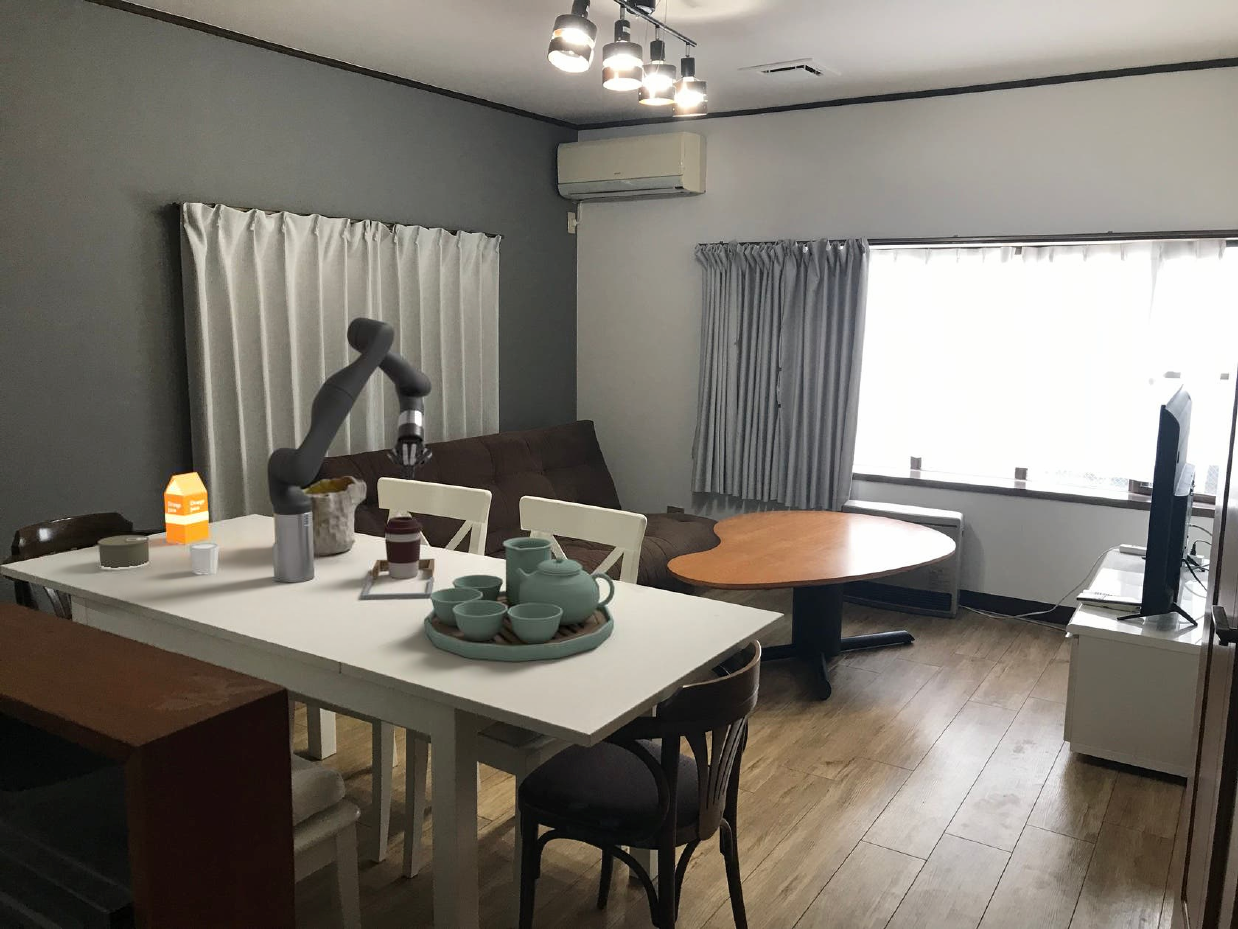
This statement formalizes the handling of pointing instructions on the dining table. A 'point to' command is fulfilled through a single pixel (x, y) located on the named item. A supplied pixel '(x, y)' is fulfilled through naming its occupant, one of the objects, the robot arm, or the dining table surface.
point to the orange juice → (186, 509)
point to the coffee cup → (403, 546)
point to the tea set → (522, 608)
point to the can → (124, 551)
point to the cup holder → (421, 565)
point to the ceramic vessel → (334, 513)
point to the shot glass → (204, 558)
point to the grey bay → (396, 595)
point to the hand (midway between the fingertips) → (408, 478)
